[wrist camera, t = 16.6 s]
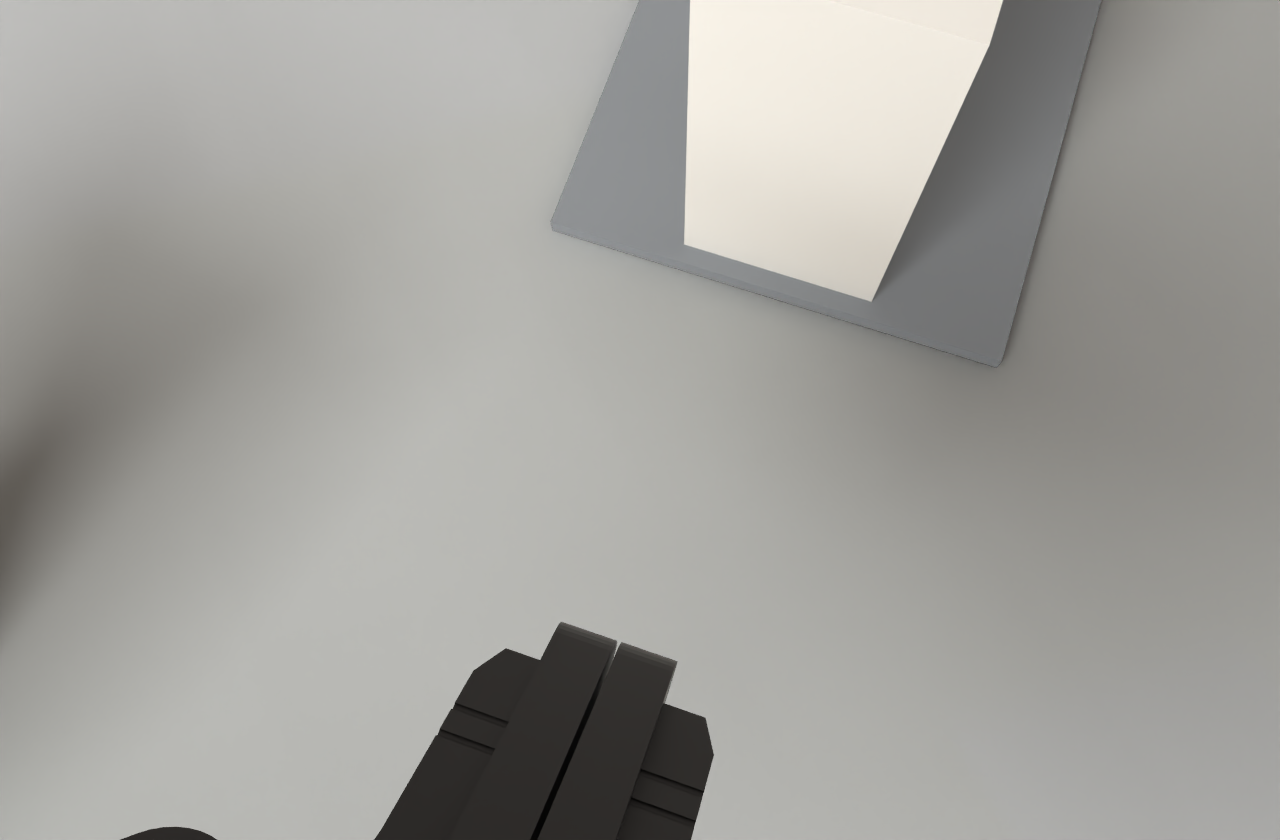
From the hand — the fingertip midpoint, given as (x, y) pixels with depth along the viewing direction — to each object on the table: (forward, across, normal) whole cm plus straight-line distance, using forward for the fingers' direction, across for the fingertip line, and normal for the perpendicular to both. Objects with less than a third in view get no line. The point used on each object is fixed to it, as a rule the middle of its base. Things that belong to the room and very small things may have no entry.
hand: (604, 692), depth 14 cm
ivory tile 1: (+18, 0, 0) cm, 18 cm away
